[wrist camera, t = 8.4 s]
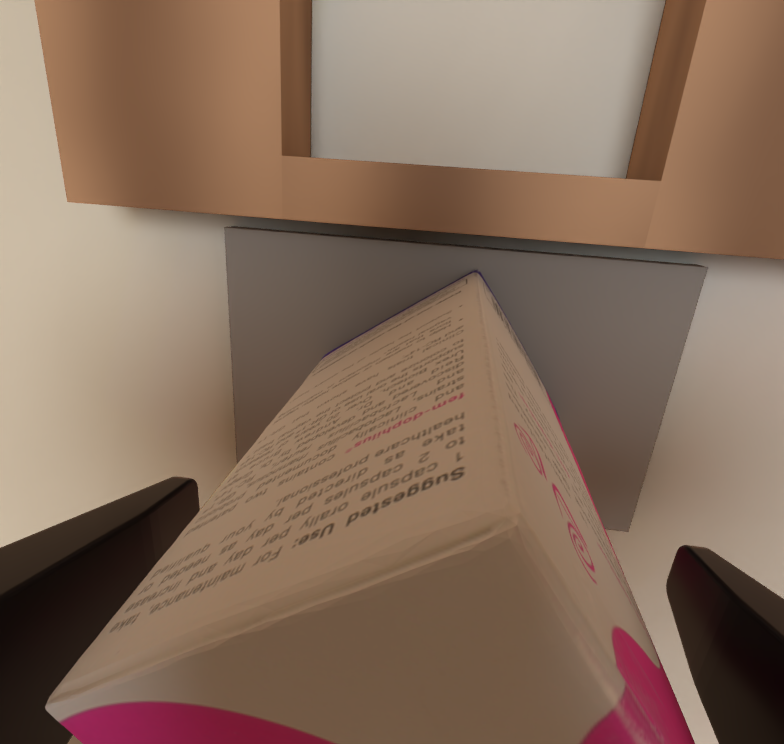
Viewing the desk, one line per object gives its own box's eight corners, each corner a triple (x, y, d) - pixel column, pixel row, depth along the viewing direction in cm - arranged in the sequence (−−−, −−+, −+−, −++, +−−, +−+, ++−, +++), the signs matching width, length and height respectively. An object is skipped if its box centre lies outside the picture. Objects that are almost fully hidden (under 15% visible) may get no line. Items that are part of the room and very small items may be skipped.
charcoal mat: (697, 264, 14) (707, 267, 13) (622, 520, 17) (628, 532, 16) (233, 226, 15) (224, 227, 14) (244, 471, 18) (238, 479, 18)
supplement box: (316, 357, 15) (5, 710, 5) (478, 263, 14) (558, 484, 3) (406, 492, 17) (322, 1003, 6) (564, 422, 15) (825, 954, 4)
